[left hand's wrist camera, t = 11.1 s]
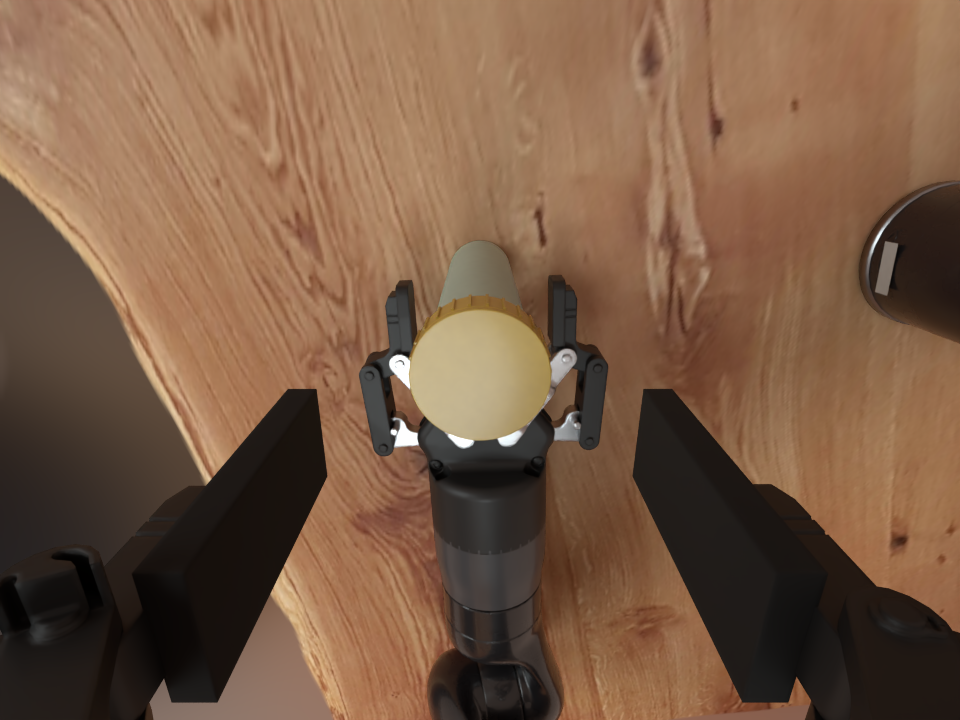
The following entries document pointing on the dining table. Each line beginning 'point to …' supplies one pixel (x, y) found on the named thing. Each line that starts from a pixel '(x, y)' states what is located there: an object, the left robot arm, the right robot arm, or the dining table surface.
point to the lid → (480, 368)
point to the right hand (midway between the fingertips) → (479, 280)
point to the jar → (480, 274)
